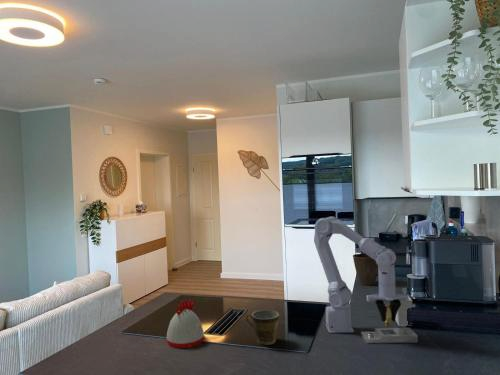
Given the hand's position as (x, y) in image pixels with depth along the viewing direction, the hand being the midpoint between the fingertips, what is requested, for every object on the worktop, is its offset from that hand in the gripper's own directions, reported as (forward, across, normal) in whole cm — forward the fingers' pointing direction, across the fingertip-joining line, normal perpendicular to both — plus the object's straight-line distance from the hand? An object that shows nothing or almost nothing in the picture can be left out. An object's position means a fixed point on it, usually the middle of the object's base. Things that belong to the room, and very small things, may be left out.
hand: (388, 320), depth 139 cm
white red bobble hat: (+7, -75, +2) cm, 75 cm away
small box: (+7, +11, +15) cm, 20 cm away
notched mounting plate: (+7, 0, 0) cm, 7 cm away
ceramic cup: (+7, -46, 0) cm, 46 cm away
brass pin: (+2, 0, 0) cm, 2 cm away
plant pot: (+7, +13, +76) cm, 78 cm away
